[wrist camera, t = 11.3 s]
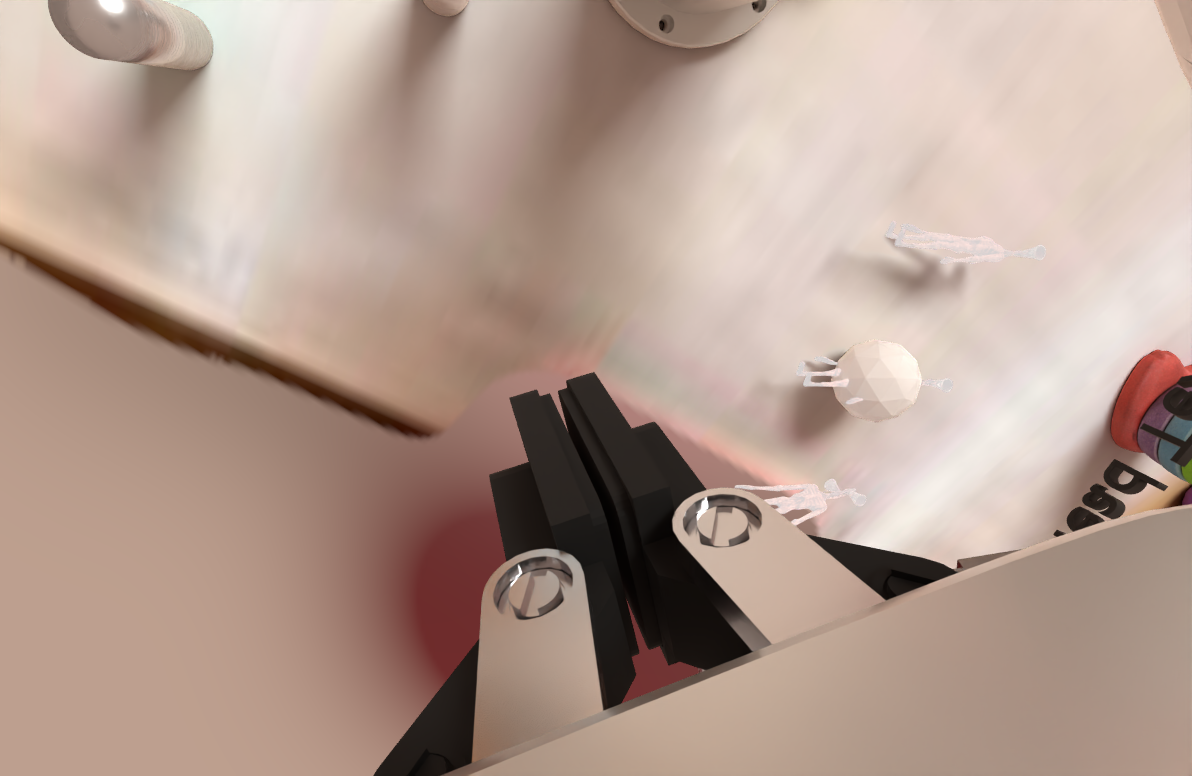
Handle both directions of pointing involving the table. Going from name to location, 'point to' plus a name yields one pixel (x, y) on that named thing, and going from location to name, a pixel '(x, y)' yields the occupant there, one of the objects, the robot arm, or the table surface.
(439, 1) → the post
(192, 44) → the post
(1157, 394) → the stacking bear
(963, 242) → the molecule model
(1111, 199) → the table surface
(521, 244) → the table surface
